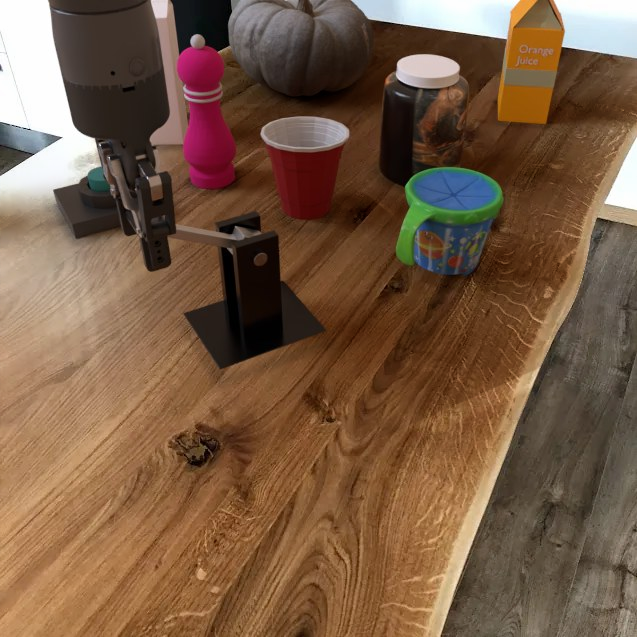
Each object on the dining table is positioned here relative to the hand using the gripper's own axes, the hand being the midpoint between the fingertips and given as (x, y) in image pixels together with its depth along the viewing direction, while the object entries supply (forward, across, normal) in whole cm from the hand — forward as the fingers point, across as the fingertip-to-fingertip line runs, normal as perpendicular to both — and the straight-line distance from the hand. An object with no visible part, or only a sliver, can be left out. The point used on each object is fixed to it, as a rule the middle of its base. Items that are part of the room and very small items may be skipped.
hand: (146, 248), depth 65 cm
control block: (+14, -32, +4) cm, 35 cm away
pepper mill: (+14, -33, +19) cm, 40 cm away
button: (+10, -32, +4) cm, 34 cm away
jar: (+14, -21, +46) cm, 52 cm away
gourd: (+14, -58, +47) cm, 76 cm away
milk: (+14, -49, +18) cm, 54 cm away
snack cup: (+14, 0, +35) cm, 37 cm away
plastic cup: (+14, -18, +26) cm, 34 cm away
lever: (+1, 0, +5) cm, 5 cm away
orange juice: (+14, -29, +72) cm, 79 cm away
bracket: (+14, 0, +10) cm, 17 cm away
